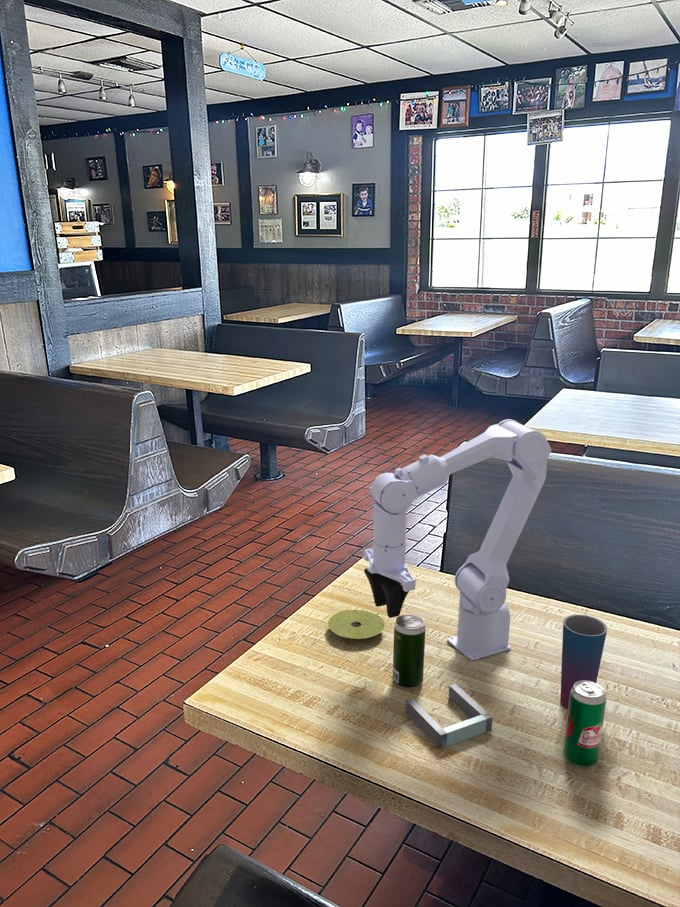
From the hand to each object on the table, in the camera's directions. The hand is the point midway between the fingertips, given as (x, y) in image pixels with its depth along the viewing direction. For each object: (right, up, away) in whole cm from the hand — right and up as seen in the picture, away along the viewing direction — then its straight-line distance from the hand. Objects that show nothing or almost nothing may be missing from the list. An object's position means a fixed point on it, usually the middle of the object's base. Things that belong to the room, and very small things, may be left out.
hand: (387, 610), depth 129 cm
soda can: (+28, -18, -21) cm, 39 cm away
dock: (+9, -15, -14) cm, 22 cm away
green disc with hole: (-5, -7, +13) cm, 16 cm away
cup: (+31, -14, -9) cm, 35 cm away
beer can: (+3, -12, -3) cm, 13 cm away
